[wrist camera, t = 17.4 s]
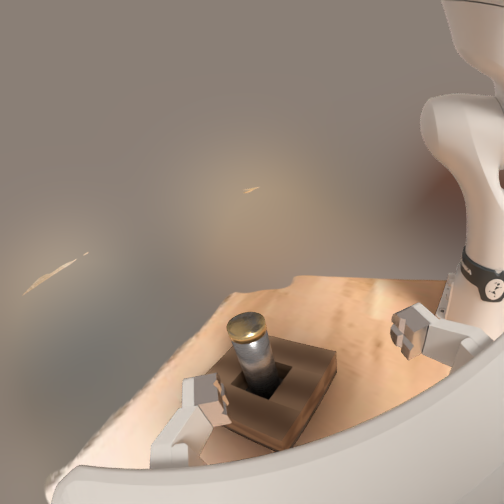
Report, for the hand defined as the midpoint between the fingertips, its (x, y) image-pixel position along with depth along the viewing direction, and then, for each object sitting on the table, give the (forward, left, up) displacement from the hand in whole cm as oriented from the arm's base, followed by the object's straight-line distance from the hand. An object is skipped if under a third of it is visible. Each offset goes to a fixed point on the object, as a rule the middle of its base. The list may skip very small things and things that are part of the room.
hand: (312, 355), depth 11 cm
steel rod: (-11, -15, -25) cm, 31 cm away
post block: (-11, -15, -26) cm, 32 cm away
